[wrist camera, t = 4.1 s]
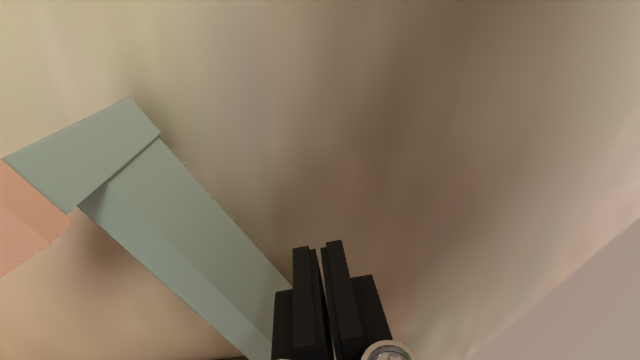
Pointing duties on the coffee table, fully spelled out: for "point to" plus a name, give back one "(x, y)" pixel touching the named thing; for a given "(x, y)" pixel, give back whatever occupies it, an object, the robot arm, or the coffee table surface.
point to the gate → (141, 219)
